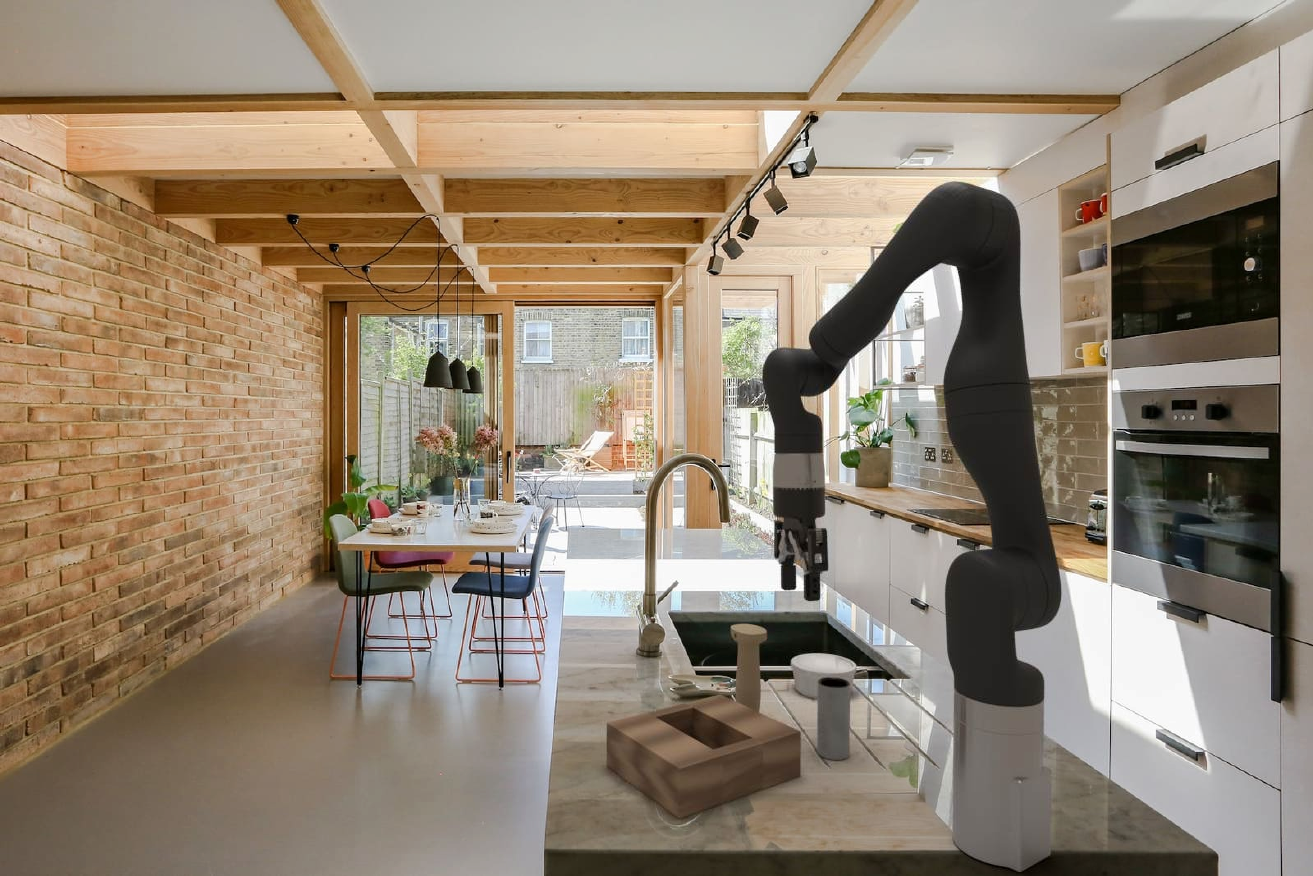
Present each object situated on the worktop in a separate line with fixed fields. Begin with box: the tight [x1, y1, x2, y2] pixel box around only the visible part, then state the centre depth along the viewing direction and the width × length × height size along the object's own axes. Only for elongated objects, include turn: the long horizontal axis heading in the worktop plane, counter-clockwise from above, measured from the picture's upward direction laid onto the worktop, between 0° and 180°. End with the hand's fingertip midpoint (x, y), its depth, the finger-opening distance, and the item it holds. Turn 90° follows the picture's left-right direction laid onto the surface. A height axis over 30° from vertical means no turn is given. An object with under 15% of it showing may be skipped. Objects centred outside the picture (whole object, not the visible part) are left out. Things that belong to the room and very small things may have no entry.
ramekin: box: [790, 652, 857, 700], centre depth 136 cm, size 11×11×5 cm
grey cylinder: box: [816, 677, 851, 761], centre depth 110 cm, size 4×4×10 cm
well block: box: [606, 694, 802, 819], centre depth 105 cm, size 17×20×6 cm
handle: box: [730, 623, 768, 713], centre depth 121 cm, size 5×6×15 cm
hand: (799, 595), depth 113 cm, fingers open, 8 cm apart
